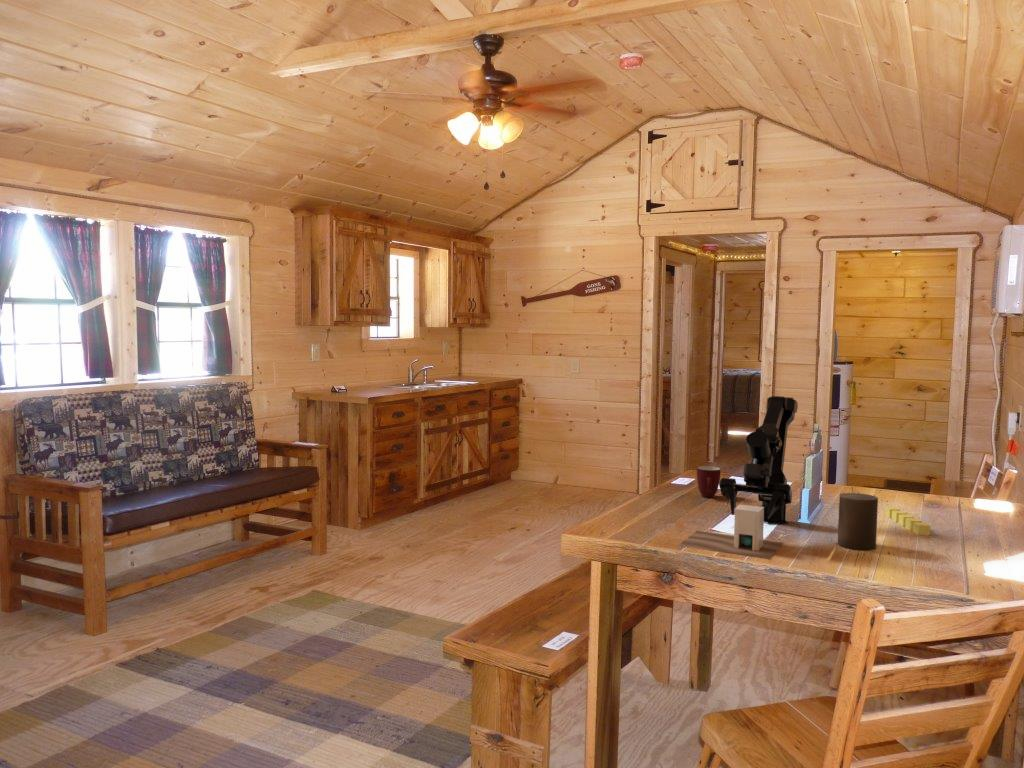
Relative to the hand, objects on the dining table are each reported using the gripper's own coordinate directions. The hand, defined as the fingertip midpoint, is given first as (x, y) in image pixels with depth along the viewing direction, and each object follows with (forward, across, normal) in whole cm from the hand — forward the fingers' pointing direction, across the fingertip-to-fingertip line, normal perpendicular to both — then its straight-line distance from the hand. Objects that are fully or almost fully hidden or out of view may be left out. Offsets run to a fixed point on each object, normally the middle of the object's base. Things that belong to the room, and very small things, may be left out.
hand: (749, 516), depth 210 cm
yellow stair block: (-30, +37, +43) cm, 64 cm away
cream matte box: (+6, 0, +5) cm, 8 cm away
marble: (+5, 0, +4) cm, 7 cm away
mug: (-34, -26, +46) cm, 63 cm away
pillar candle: (-6, +25, +19) cm, 32 cm away
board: (+7, -4, +6) cm, 10 cm away
